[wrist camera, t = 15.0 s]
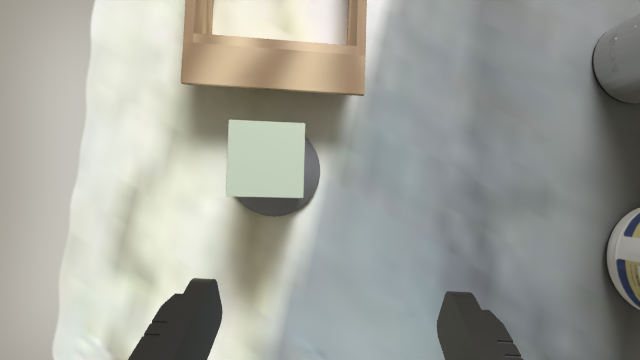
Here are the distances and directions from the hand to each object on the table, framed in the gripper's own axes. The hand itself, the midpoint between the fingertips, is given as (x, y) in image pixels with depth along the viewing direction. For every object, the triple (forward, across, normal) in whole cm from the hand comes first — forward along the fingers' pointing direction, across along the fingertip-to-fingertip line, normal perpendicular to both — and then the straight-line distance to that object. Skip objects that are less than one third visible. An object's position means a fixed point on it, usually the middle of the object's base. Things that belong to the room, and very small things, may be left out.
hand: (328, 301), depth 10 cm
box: (+19, +6, +4) cm, 20 cm away
